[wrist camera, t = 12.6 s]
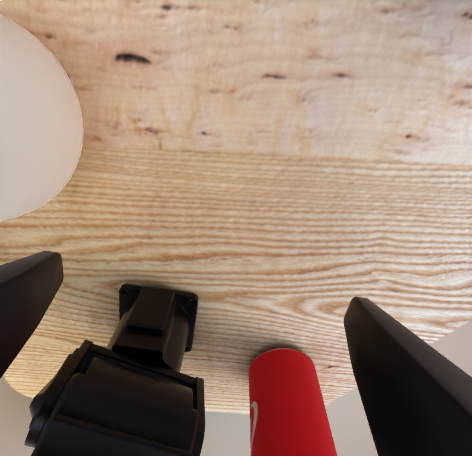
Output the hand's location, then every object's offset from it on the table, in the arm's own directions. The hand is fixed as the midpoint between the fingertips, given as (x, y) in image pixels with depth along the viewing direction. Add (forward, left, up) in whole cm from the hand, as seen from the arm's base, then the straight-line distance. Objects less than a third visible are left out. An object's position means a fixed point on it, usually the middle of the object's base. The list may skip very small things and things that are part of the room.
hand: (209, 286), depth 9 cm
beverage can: (-18, -8, -13) cm, 24 cm away
